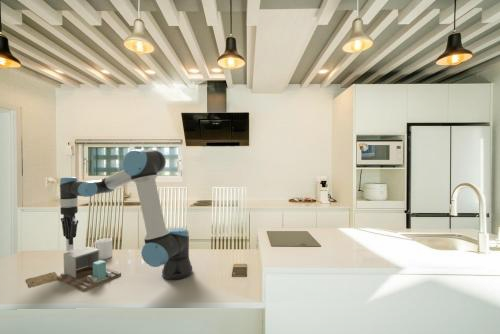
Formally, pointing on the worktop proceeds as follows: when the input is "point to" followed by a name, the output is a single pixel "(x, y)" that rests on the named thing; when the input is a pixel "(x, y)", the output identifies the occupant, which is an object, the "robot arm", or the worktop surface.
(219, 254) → the worktop surface
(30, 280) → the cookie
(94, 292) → the worktop surface
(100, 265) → the teal block
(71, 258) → the housing
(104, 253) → the cup
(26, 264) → the worktop surface
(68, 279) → the board
